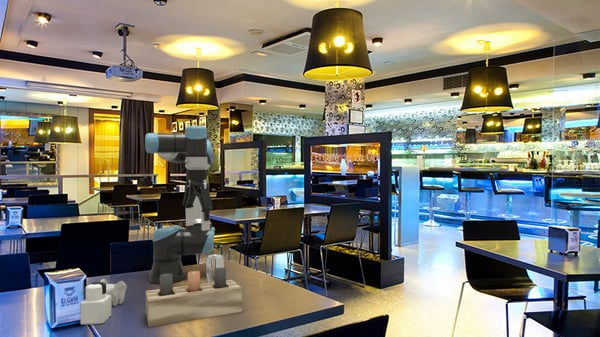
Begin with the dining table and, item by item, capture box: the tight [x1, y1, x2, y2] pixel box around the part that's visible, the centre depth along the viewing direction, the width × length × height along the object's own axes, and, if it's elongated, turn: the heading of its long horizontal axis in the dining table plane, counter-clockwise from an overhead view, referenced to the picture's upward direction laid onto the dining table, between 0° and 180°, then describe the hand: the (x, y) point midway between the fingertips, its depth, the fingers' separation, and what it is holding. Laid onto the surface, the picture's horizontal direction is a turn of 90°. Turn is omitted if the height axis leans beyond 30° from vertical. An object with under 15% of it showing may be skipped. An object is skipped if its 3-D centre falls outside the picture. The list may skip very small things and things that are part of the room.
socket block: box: [145, 279, 243, 328], centre depth 138 cm, size 12×30×8 cm, turn 115°
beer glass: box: [205, 254, 225, 283], centre depth 158 cm, size 7×7×15 cm
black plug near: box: [159, 274, 174, 296], centre depth 134 cm, size 4×4×8 cm
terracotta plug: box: [187, 269, 201, 293], centre depth 138 cm, size 4×4×8 cm
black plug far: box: [214, 267, 227, 289], centre depth 142 cm, size 4×4×8 cm
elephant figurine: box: [99, 278, 128, 307], centre depth 148 cm, size 10×12×9 cm
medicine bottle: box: [79, 281, 113, 325], centre depth 133 cm, size 7×7×12 cm
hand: (197, 227), depth 147 cm, fingers open, 13 cm apart
